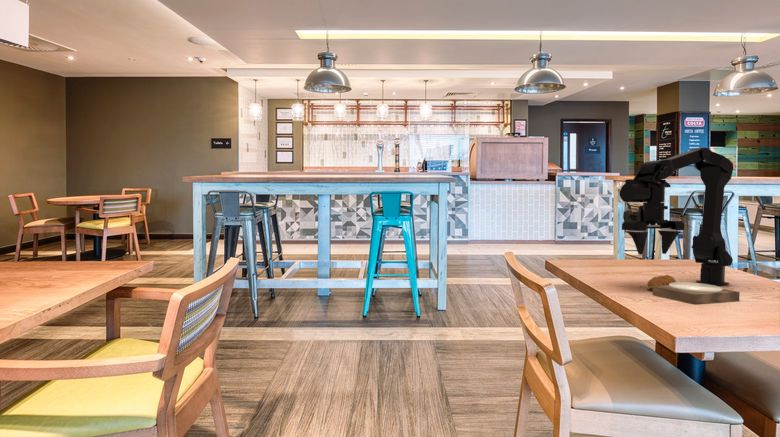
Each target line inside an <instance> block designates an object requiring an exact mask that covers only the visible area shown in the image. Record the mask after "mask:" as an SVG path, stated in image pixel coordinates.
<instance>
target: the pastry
mask: <svg viewBox="0 0 780 437" xmlns="http://www.w3.org/2000/svg"><path fill="white" fill-rule="evenodd" d="M673 282H677V281H676V279H675V278H674V276H671V275H668V274H666V275H658V276H654V277H651V279H650V280H648V282H647V284H646V285H647V289H649V288H651V289H653V286H663V285H669V283H673Z"/></svg>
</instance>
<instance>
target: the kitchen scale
mask: <svg viewBox="0 0 780 437" xmlns="http://www.w3.org/2000/svg"><path fill="white" fill-rule="evenodd" d="M740 292H741V291H738V290H732V289H726V288H723V287H722V286H719V285H712V284H706V283H700V282H691V281H690V282H687V281H685V282H684V281H676V282H673V283H669V285H663V286H653V288H652V296H656V297H661V298H665V299H668V300H674V301H678V302H682V303H688V304H692V305H703V304H715V303H717V304H718V303H727V302H731V303H732V302H740Z"/></svg>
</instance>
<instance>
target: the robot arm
mask: <svg viewBox="0 0 780 437" xmlns="http://www.w3.org/2000/svg"><path fill="white" fill-rule="evenodd" d="M692 165H693V166H694V168H695V169H696V170H697V171H699V174H700V177H699V178H700V179H701V181H702V183H703V184H704V185H703V186H704V196H703V207H702V221H701V229H700V232H699V233H698V234H697V235H693V236H692V245H691V249H692V254H693V256H694V261H695V263H697V264H700V272H699V273H700V274H699V275H700V276H699V279H698V280H697V279H696V281H695V283H702V284H709V285H715V286H719V285H720V286H721V285H722V286H723V285H730V282H728V281H727V282H726V281H725V279H726V278H725V277H726V275H725V274H726V267H729V266H730V267H731V266H732V264H733V261H734V259H733V257H732V256H731V254H730V253H728V250H727V248H726V241H725V239H724V237H723V235H722V233H721V229H722V228H721V226H722V217H723V207H724V206H723V204H724V194H725V187H726V185H727V184H728V183H729V182H730V181H731V179H732V176H733V170H734V163H733V162H732V161H731V160H730V159H729V158H727V157H726V156H724V155H722V154H720V153H718V152H715V151H712V150H711V149H710V148H708V147H697V148H692V149H690V150H688V151H685V152H682V153H678V154H676V155H673V156H670V157H668V158H665V159H660V160H649V161H643V162H642V163H641V164H640V168H639V169H638V171H637V173H636V175H635V176H634V178H632V179H625V183H624V184H623V185H621V187H620V190H619V198H620V200H621V201H622V202H623V203H642V205H639V207H638V211H632V210H630V209H629V210H624V211H623V213H622V214H623V215H622V219H623V222H622V223H621V231H624V232H625V233H627V234H628V235H629V236H630V237H631V238H632V240H633V242H634V246H635V248H636V252H637V254H638V255H640V256H642V255H643V253H644V250H645V247H646V241H647V238H648V234H649V233H648V231H646V230H647V229H650V230H651V229H660V230H657V231H658V233H659V235H660V237H661V238H660V239H661V240H660V241H661V254H664V255H666V254H667V253H668V251H669V250H670V247H671V246H672V244H673V242H674V241H675V239H676V238H677V237H678V235H679V234H681V233H682V231H685V223H684V222H683V221H682V220H670V219H669V220H668V219H665V210H668V209H669V206H668V205H665V201H666V200H665V199H666V198H665V197H666V188H671V186H672V185H671V184H670V183H669V182H668V181H667V180H666V179H668V178H669V177H670V176H672V175H673V174H674V172H676V171H677V170H680V169H682V168H686V167H688V166H692Z"/></svg>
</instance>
